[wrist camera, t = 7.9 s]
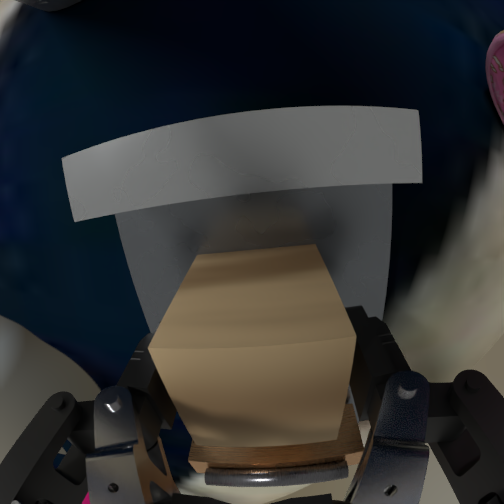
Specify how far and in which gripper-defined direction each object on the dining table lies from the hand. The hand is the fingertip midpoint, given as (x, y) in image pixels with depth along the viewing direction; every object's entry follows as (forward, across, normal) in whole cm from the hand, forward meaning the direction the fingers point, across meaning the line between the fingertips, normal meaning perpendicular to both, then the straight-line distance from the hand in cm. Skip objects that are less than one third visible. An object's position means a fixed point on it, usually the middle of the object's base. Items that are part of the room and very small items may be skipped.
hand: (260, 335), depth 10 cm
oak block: (+3, 0, 0) cm, 3 cm away
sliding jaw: (+2, 0, +9) cm, 10 cm away
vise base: (+4, 0, +2) cm, 5 cm away
